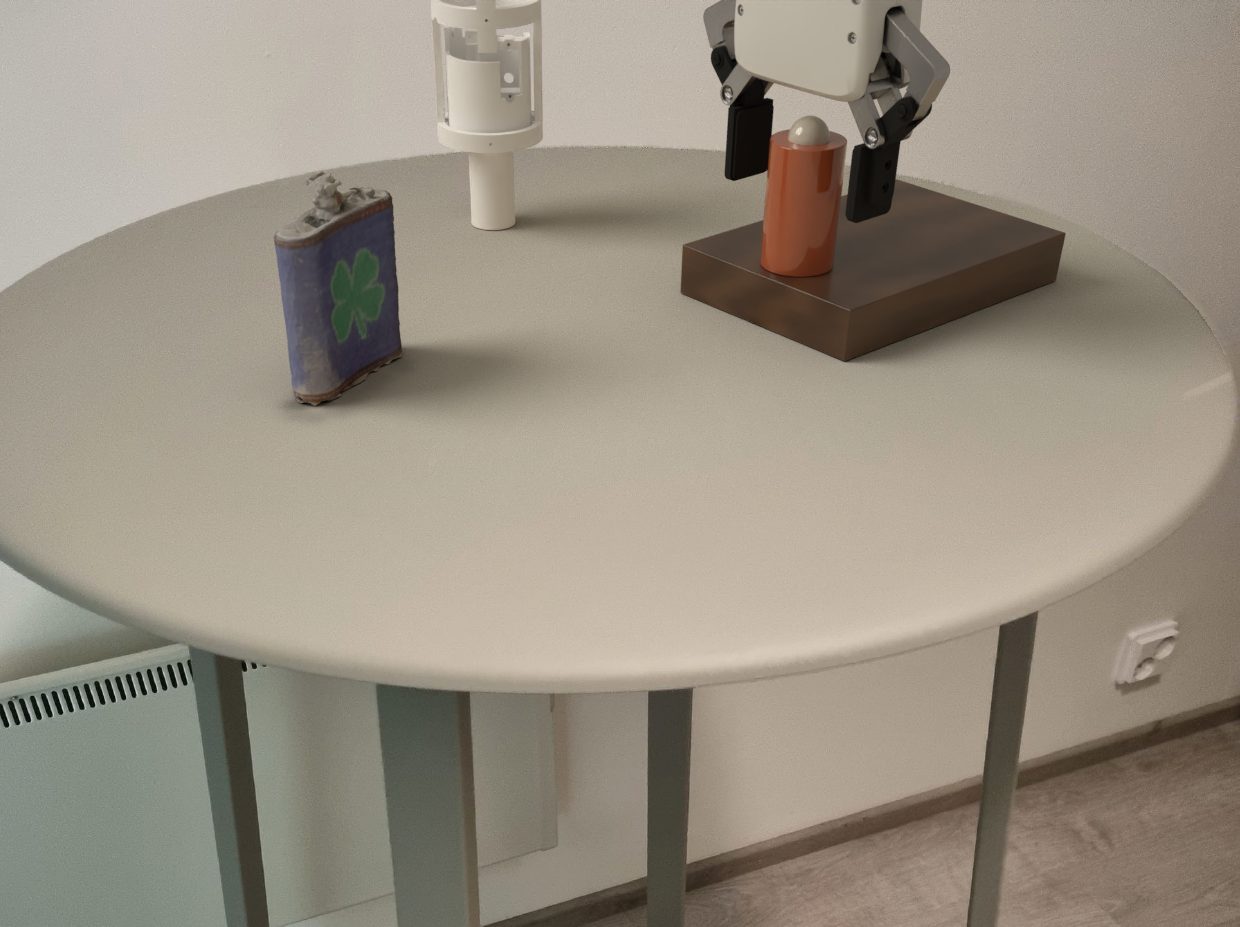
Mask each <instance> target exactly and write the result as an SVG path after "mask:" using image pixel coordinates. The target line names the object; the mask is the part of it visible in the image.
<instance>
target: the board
mask: <svg viewBox="0 0 1240 927" xmlns="http://www.w3.org/2000/svg"><path fill="white" fill-rule="evenodd" d="M847 195H848V193H847V194H844V195H841V204H840V213H839V222H838V231H837V240H836V249H835V257H834V266H833V268H832V269H831V270H830V271H829V272H827V273H824V274H821V275H817V276H810V277H791V276H783V275H779V274H775V273H772V272H770V271H768V270H766V269H764V268H763V267H762V266H761V263H760V257H761V245H762V232H763V220H764V219H762V220H759V221H756V222H752V223H749V224H746V225H742V226H739V227H736V228H733V229H729V230H726V231H722V232H719V233H716V234H713V235H710V236H706V237H703V238H700V239H696V240H694V241H693V240H692V241H690V242H687V243H684V244H682V248H681V249H682V250H681V270H680V272H681V273H680V293H681V294H683V295H685V296H688V297H689V298H692V299H695V300H697V301H700V302H702V303H704V304H706V305H709V306H712V307H713V308H716V309H719V310H721V311H723V312H726V313H728V314H730V315H733V316H734V317H737V318H740V319H742V320H745V321H747V322H750V323H752V324H755V325H757V326H760V328H761V327H762V328H764V329H767V330H769V331H771V332H773V333H776V334H778V335H780V336H783V337H785V338H788V339H790V340H792V341H795V342H797V343H800V344H802V345H804V346H807V347H809V348H811V349H814V350H816V351H819V352H821V353H824V354H826V355H828V356H831V357H833V358H836V359H838V360H841V361H843V362H846V361H849V360H852V359H854V358H855V359H856V357H859V356H862V355H865V354H868V353H871V352H872V351H875V350H878V349H881V348H883V347H886V346H888V345H892V344H894V343H896V342H899V341H901V340H904V339H907V338H910V337H912V336H914V335H917V334H920V333H922V332H924V331H925V332H926V331H927V330H930V329H932V328H936V327H938V326H941V325H943V324H946V323H949V322H951V321H954V320H956V319H959V318H961V317H964V316H967V315H970V314H973V313H975V312H977V311H980V310H982V309H985V308H988V307H990V306H992V305H995V304H997V303H1001V302H1003V301H1006V300H1008V299H1011V298H1014V297H1016V296H1017V297H1018V296H1019V295H1022V294H1024V293H1027V292H1029V291H1032V290H1035V289H1037V288H1040V287H1043V286H1045V285H1047V284H1050V283H1053V282H1056V280H1057V277H1058V273H1059V269H1060V263H1061V259H1062V254H1063V250H1064V244H1065V239H1066V236H1067V235H1066V232H1065V231H1062V230H1058V229H1055V228H1052V227H1049V226H1045V225H1042V224H1039V223H1036V222H1033V221H1031V220H1027V219H1024V218H1021V217H1017V216H1014V215H1011V214H1008V213H1006V212H1005V213H1004V212H1002V211H998V210H996V209H992V208H989V207H987V206H983V205H979V204H976V203H973V202H970V201H966V200H964V199H960V198H957V197H954V196H952V195H948V194H944V193H942V192H937V191H935V190H932V189H928V188H925V187H922V186H920V185H916V184H914V183H911V182H906V181H904V180H900V179H897V178H896V180H895V188H894V194H893V197H892V204H891V208H890V210H889V212H888V213H886V214H884V215H881V216H878V217H874V218H871V219H868V220H865V221H862V222H859V223H854V222H851V221H848V220H847V217H846V215H845V212H846V204H847Z"/></svg>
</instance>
